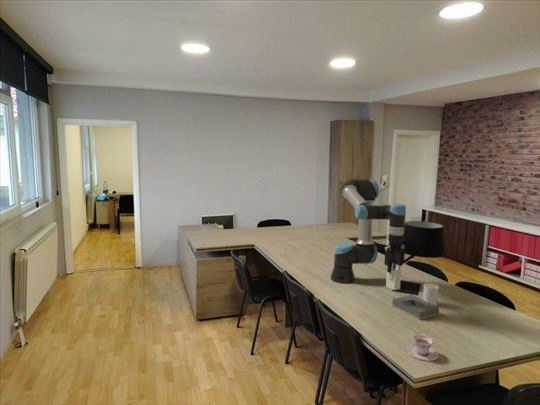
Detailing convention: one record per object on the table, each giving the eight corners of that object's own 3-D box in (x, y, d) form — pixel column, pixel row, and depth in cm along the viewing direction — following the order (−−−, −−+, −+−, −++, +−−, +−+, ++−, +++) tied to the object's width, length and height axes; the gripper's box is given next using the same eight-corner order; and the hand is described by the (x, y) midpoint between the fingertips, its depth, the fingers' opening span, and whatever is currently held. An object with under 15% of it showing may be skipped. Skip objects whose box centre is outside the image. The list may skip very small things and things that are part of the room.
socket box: (392, 306, 199) (392, 298, 198) (410, 301, 205) (411, 294, 204) (419, 319, 183) (420, 312, 182) (438, 314, 189) (439, 307, 189)
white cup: (424, 299, 209) (426, 282, 208) (439, 303, 204) (441, 285, 203) (420, 303, 203) (421, 286, 201) (435, 307, 198) (436, 289, 197)
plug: (385, 286, 197) (387, 262, 195) (391, 285, 199) (392, 261, 197) (394, 290, 192) (395, 265, 190) (399, 288, 193) (401, 264, 192)
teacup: (405, 344, 160) (406, 330, 159) (435, 348, 156) (437, 334, 155) (407, 358, 148) (409, 344, 147) (440, 364, 145) (441, 349, 144)
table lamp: (395, 278, 243) (399, 218, 237) (442, 286, 230) (447, 223, 225) (389, 291, 220) (393, 225, 214) (441, 300, 208) (447, 230, 202)
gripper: (389, 237, 184) (386, 282, 187) (413, 234, 192) (410, 277, 195) (378, 234, 191) (375, 277, 194) (402, 231, 199) (399, 273, 202)
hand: (393, 277), depth 195 cm, fingers closed on plug, 4 cm apart
